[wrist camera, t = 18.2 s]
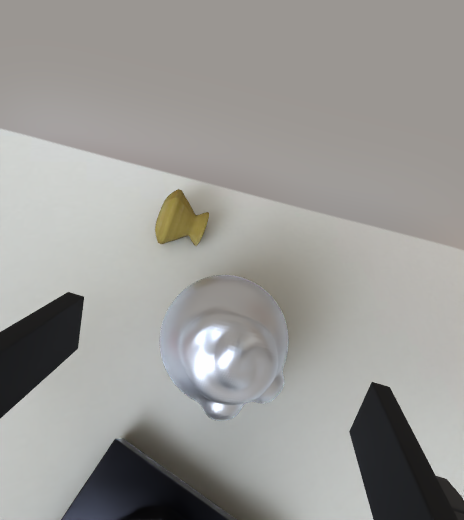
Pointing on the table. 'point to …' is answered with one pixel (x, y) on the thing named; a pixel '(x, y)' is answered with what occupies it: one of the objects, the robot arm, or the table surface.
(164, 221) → the knob
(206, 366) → the ghost figurine
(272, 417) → the table surface
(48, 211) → the table surface
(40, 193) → the table surface
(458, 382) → the table surface
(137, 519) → the panel
